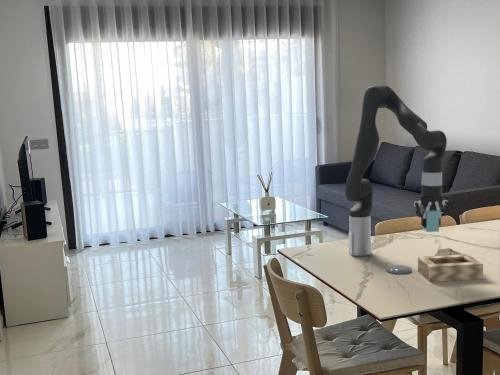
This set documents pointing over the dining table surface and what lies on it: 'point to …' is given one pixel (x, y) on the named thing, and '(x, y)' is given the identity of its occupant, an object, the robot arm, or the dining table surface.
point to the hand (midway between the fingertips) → (430, 226)
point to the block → (432, 221)
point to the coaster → (398, 269)
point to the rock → (446, 252)
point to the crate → (450, 268)
